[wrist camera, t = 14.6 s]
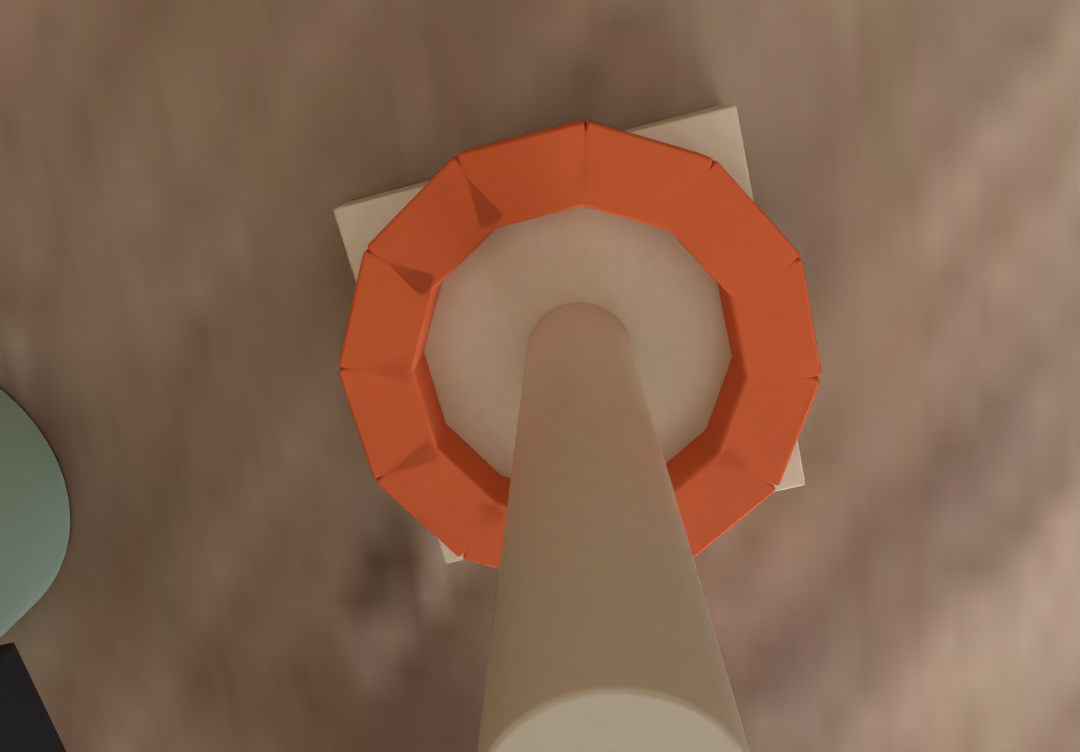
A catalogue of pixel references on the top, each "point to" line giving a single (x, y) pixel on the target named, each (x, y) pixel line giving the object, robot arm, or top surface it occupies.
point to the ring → (542, 189)
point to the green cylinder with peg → (28, 514)
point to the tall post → (589, 462)
